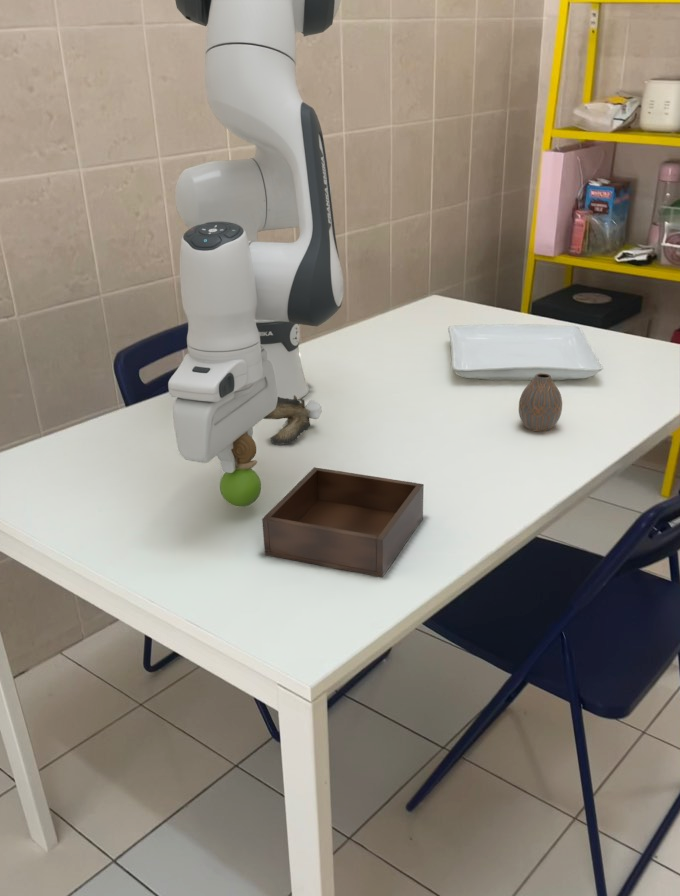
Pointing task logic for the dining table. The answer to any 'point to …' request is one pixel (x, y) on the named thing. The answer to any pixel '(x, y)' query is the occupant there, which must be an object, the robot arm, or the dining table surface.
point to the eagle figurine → (293, 418)
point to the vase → (540, 404)
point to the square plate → (521, 352)
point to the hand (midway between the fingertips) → (236, 465)
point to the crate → (344, 521)
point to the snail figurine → (242, 475)
